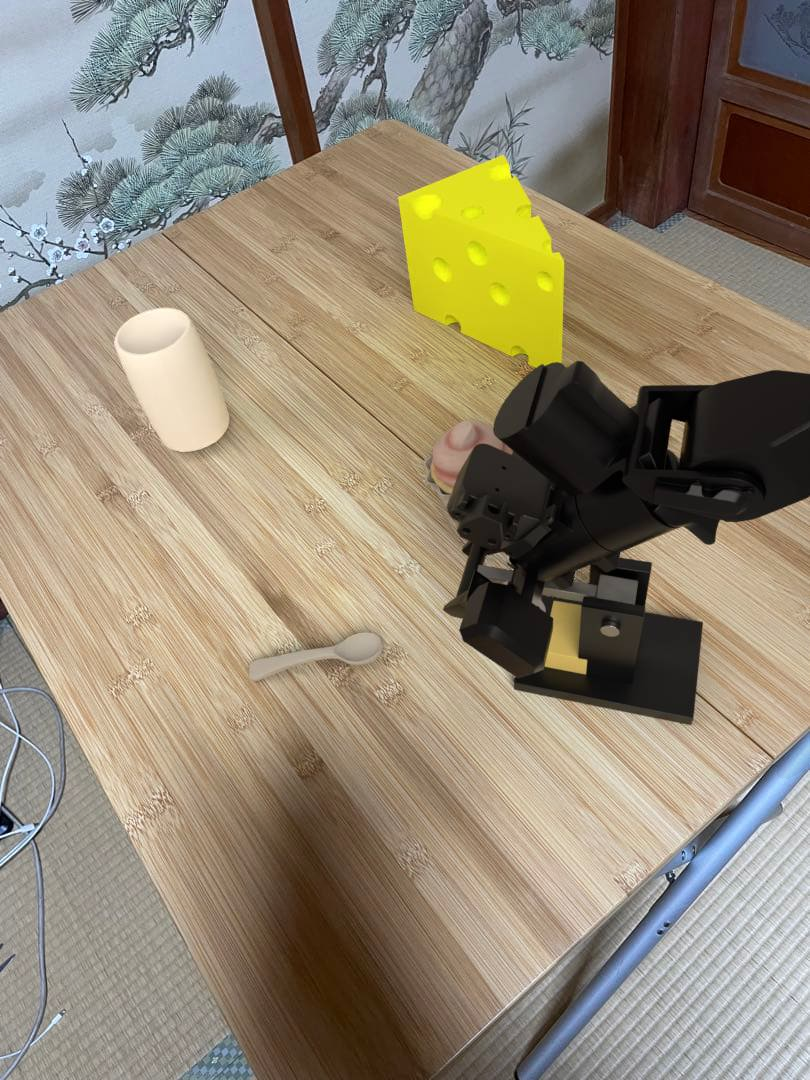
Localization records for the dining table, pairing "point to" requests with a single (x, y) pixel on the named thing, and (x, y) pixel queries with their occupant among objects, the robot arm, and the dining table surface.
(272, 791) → the dining table surface
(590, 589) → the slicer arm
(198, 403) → the cup
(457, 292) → the cheese wedge
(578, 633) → the butter
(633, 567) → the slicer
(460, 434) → the cupcake
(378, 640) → the spoon
